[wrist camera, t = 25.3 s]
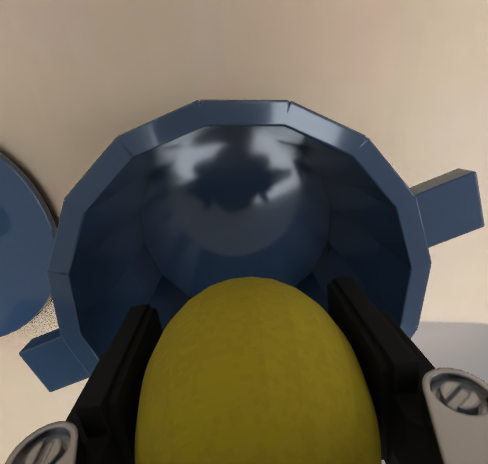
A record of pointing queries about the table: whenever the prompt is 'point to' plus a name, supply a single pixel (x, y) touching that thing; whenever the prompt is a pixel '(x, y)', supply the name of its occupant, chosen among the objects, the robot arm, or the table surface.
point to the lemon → (255, 383)
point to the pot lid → (22, 248)
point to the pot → (238, 222)
